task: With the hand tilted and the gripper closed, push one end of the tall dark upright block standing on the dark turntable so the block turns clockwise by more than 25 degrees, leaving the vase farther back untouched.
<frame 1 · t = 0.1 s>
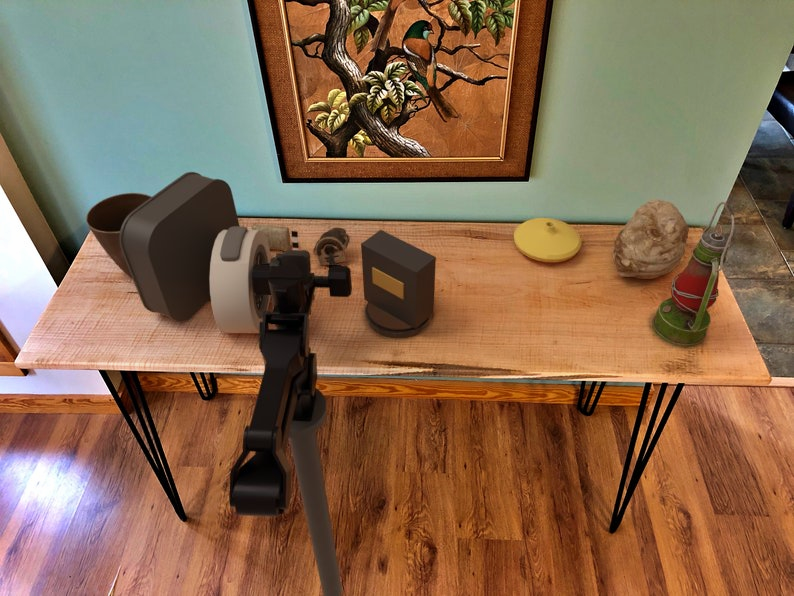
hand: (308, 253, 124), 15 cm above the table, tool horizontal, fingers open, 9 cm apart
alarm clock: (250, 311, 134), on the table
flower pot: (144, 269, 145), on the table
dark upright block: (398, 280, 126), point 10 cm above the table, hinge at 0.0°
mechanical counter: (336, 252, 149), on the table
speaker: (198, 290, 139), on the table
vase: (545, 249, 149), on the table
turntable base: (398, 314, 133), on the table
rock: (640, 267, 144), on the table
lantern: (678, 329, 129), on the table
cuneiform tablet: (278, 250, 150), on the table
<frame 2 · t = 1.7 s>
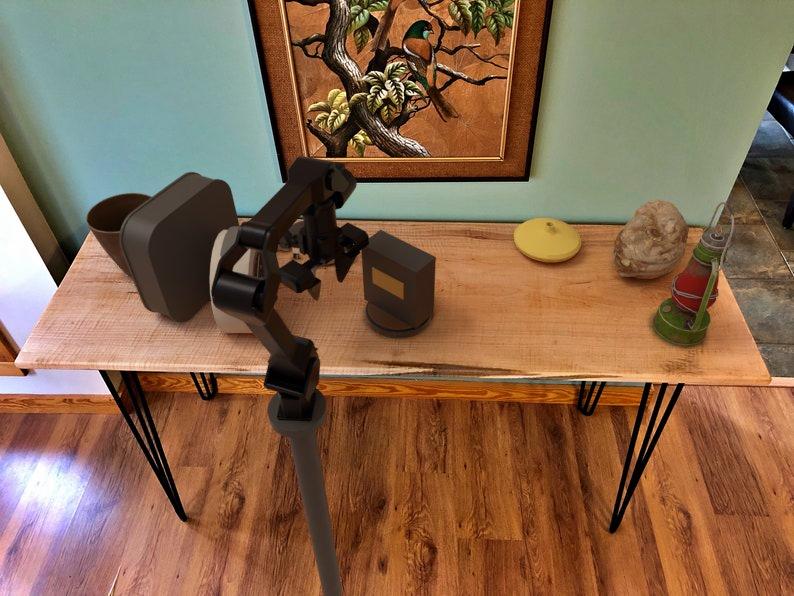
hand: (328, 290, 119), 13 cm above the table, tool pointing down, fingers open, 6 cm apart
nothing on the table moved.
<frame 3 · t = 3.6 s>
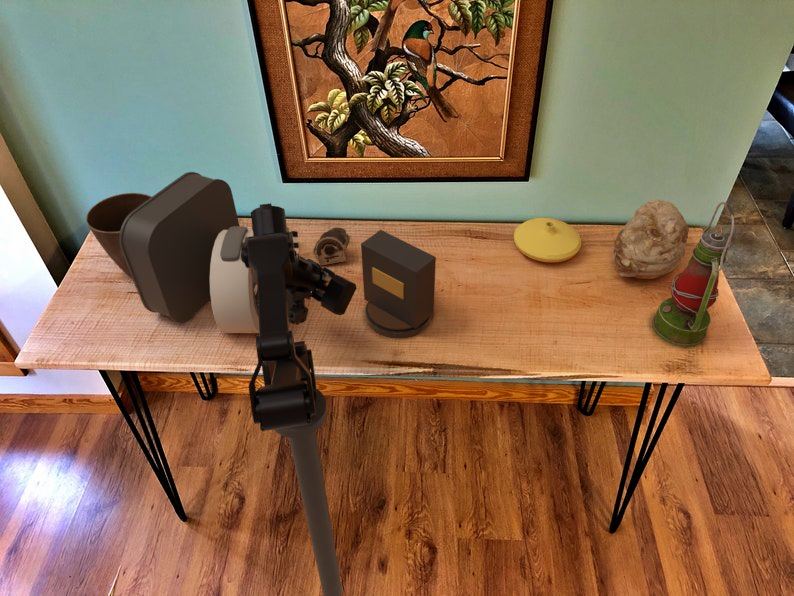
hand: (334, 286, 120), 13 cm above the table, tool tilted 45°, fingers closed
nothing on the table moved.
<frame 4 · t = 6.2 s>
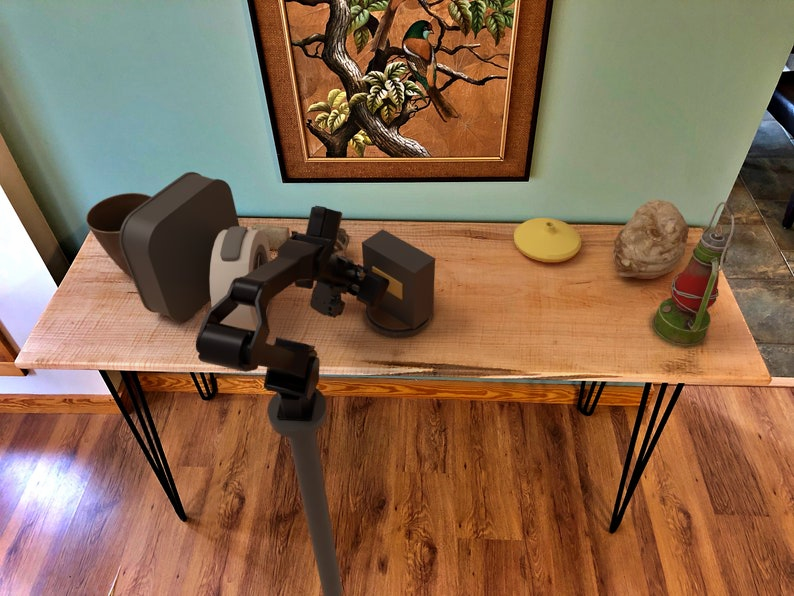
hand: (365, 281, 129), 8 cm above the table, tool tilted 45°, fingers closed, pressing on dark upright block
dark upright block: (398, 280, 126), point 10 cm above the table, hinge at -3.1°, touching gripper
everything else where it was.
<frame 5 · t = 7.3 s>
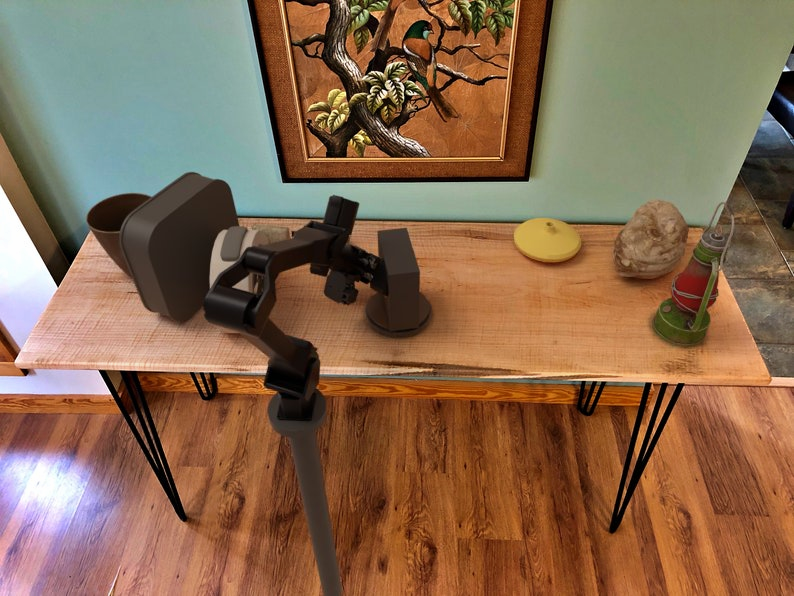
hand: (376, 271, 131), 8 cm above the table, tool tilted 45°, fingers closed, pressing on dark upright block
dark upright block: (398, 280, 126), point 10 cm above the table, hinge at -40.7°, touching gripper
everything else where it was.
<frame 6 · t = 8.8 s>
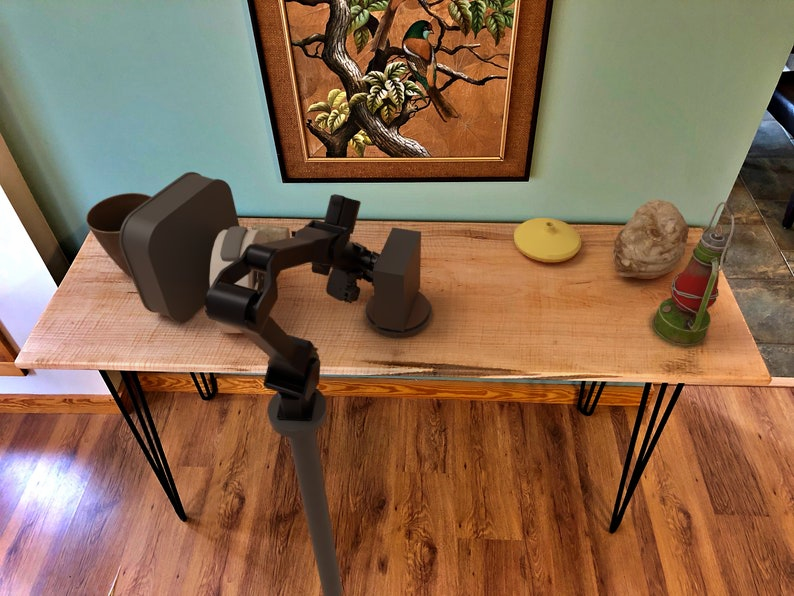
hand: (379, 268, 132), 8 cm above the table, tool tilted 45°, fingers closed, pressing on dark upright block
dark upright block: (398, 280, 126), point 10 cm above the table, hinge at -65.3°, touching gripper
everything else where it was.
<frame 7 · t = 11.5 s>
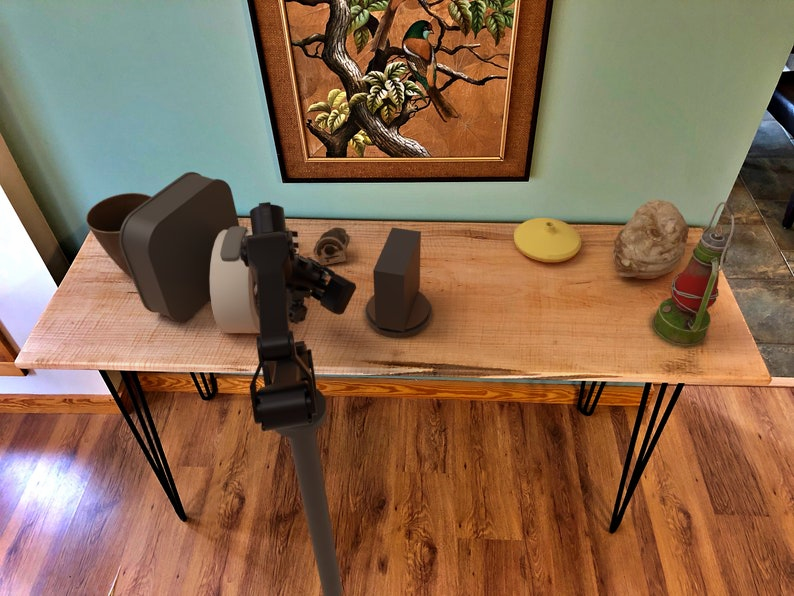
hand: (334, 285, 120), 13 cm above the table, tool tilted 45°, fingers closed
dark upright block: (398, 280, 126), point 10 cm above the table, hinge at -64.7°
everything else where it was.
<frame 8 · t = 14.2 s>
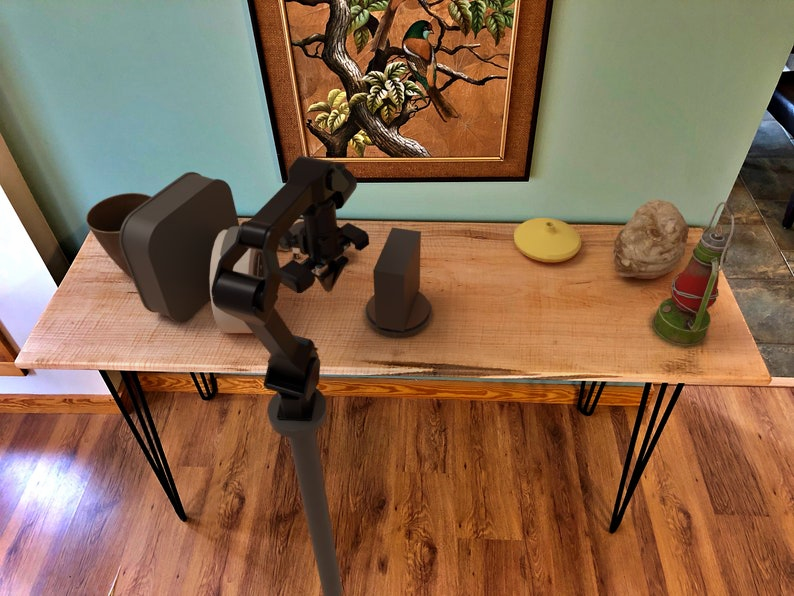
hand: (328, 290, 119), 13 cm above the table, tool pointing down, fingers closed
nothing on the table moved.
at the end: dark upright block at -65° (first picture: +0°); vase moved 0.2 cm from its start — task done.
